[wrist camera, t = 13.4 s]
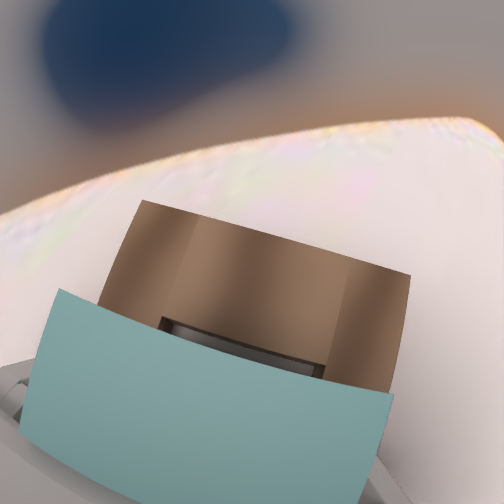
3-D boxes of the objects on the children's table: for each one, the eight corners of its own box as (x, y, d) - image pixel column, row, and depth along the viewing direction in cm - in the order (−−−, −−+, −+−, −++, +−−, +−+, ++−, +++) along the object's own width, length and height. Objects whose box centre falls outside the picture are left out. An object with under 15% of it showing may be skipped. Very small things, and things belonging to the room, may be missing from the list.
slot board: (392, 287, 18) (410, 275, 16) (316, 539, 12) (325, 558, 10) (153, 219, 19) (142, 199, 17) (72, 459, 14) (51, 467, 12)
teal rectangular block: (296, 379, 15) (394, 394, 4) (278, 436, 14) (336, 548, 3) (178, 343, 15) (58, 287, 5) (160, 399, 14) (18, 432, 4)
